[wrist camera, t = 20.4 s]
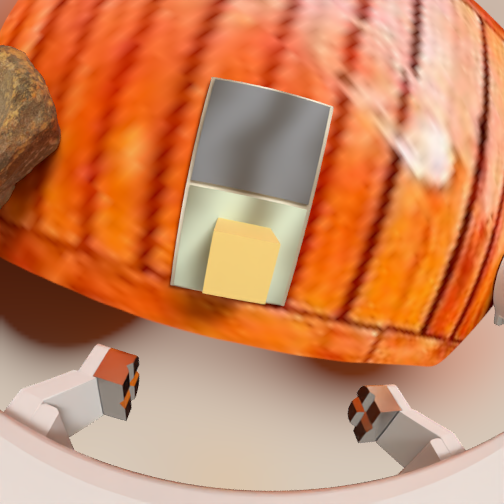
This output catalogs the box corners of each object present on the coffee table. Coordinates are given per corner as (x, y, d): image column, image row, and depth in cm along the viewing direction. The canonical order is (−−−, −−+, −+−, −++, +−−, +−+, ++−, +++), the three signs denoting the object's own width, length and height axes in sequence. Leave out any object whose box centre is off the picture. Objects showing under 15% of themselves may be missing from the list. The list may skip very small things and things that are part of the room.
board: (331, 108, 24) (334, 106, 23) (283, 303, 30) (284, 307, 29) (212, 78, 23) (211, 76, 22) (171, 282, 28) (169, 286, 27)
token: (270, 228, 26) (280, 244, 21) (258, 277, 28) (265, 304, 22) (218, 217, 26) (213, 230, 20) (208, 267, 27) (202, 293, 21)
